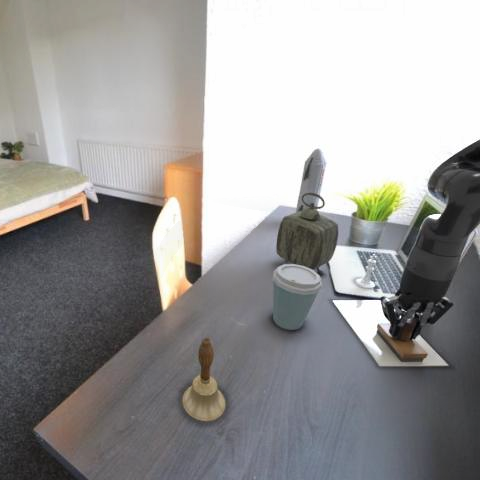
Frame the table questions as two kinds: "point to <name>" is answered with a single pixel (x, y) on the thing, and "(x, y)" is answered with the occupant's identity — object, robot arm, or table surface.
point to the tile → (365, 327)
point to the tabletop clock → (307, 237)
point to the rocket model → (312, 179)
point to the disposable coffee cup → (294, 294)
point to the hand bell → (204, 389)
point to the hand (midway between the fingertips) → (402, 336)
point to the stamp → (403, 342)
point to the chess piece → (368, 274)
